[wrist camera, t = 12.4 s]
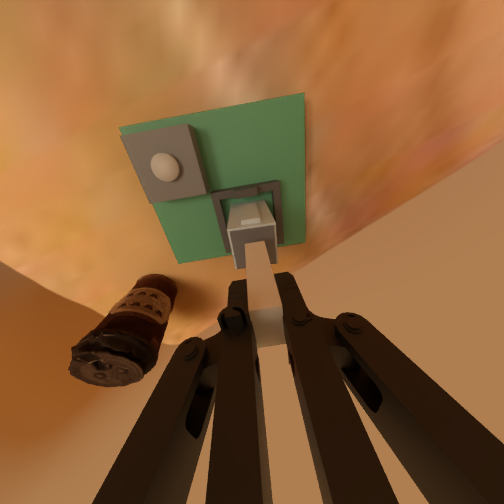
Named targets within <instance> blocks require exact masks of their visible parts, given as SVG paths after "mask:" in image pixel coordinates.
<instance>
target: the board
mask: <svg viewBox="0 0 504 504" xmlns="http://www.w3.org/2000/svg"><path fill="white" fill-rule="evenodd" d="M119 129H120V131H121V133H122V136H120V137H121V140H122V142H123V144H124V146H125V149H126V151H127V153H128V155H129V158H130V160H131V162H132V164H133V167H134V169H135V171H136V173H137V176H138V178H139V180H140V182H141V185H142V187H143V189H144V191H145V194H146V196H147V198H148V200H149V203H150V204H153V207H154V209H155V211H156V213H157V216H158V218H159V220H160V223H161V225H162V227H163V229H164V232H165V234H166V236H167V239H168V241H169V243H170V245H171V248H172V250H173V252H174V255H175V257H176V259H177V261H178V264H180V263H186V262H192V261H198V260H204V259H210V258H216V257H222V256H228V255H232V251H231V246H230V241H229V237H228V232H227V226H228V219H229V213H230V206H231V204H234V203H241V202H247V201H254V200H261V199H264V200H265V202H266V204H267V206H268V208H269V210H270V212H271V214H272V216H273V218H274V220H275V222H276V235H277V247H282V246H287V245H293V244H299V243H305V104H304V93H299V94H294V95H289V96H283V97H278V98H273V99H267V100H262V101H257V102H251V103H246V104H241V105H235V106H230V107H224V108H219V109H214V110H208V111H203V112H198V113H192V114H187V115H182V116H176V117H171V118H166V119H160V120H155V121H150V122H144V123H139V124H134V125H128V126H123V127H119Z"/></svg>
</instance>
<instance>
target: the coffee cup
mask: <svg viewBox="0 0 504 504" xmlns="http://www.w3.org/2000/svg"><path fill="white" fill-rule="evenodd" d="M176 295H177V288H176V286H175V284H174V283H173V282H172V281H171V280H169V279H167V278H165V277H163V276H160V275H147V276H143V277H142V278H140V279H138V280H137V283H136V285H135V286H134V287H133V288H132V290H130V292H129V293H128V294H127V295H126V296H124V297H123V298H122V299H121V300H120V301H119V302H118V303H116V304H115V305H114V306H113V307H112V309H111V310H110V311H109V314H108V315H107V316H106V317H105V318H104V319H103V321H102V322H101V323H100V324H99V325H98V326H97V327H96V328H95V329H94V330H91V331H90V332H89V333H88V334H87V335H86V336H85V337H84V338H82V339H81V340H80V342H79V343H78V344H77V345H76V346H73V347H72V349H71V350H72V361H71V363H70V366H69V369H68V370H69V371H70V374H71V375H72V376H74V377H75V378H77V379H80V380H82V381H84V382H86V383H88V384H93V385H96V386H104V387H117V386H126V385H129V384H131V383H135V382H138V381H140V380H141V379H142V378H143V377H144V375H145V374H147V373H148V372H149V371H150V370H151V369H152V368H153V367H154V366H155V365H156V362H157V359H158V352H159V349H160V345H161V342H162V339H163V337H164V333H165V330H166V327H167V324H168V319H169V316H170V313H171V311H172V309H173V305H174V300H175V297H176Z"/></svg>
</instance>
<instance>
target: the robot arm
mask: <svg viewBox="0 0 504 504" xmlns="http://www.w3.org/2000/svg"><path fill="white" fill-rule="evenodd" d="M245 257H246V275H247V279H243V280H237V281H232V283H231V285H230V286H229V292H228V294H229V295H228V305H227V307H226V308H224V309H223V310H222V311H221V312H220V313H219V315H218V318H217V319H218V322H219V325H220V327H221V331H220V332H219V333H217V334H216V335H214V336H212V337H210V338H208V339H206V340H204V341H203V340H202V339H201V338H199V337H191V338H189V339H186V340H185V341H183V342H182V343H181V344H180V345H179V346H178V348H177V349H176V350H175V352H174V354H173V356H172V358H171V360H170V362H169V363H168V365H167V367H166V369H165V371H164V372H163V374H162V376H161V378H160V380H159V382H158V384H157V385H156V387H155V389H154V391H153V393H152V395H151V396H150V398H149V400H148V402H147V404H146V406H145V407H144V409H143V411H142V413H141V415H140V417H139V418H138V420H137V422H136V424H135V426H134V427H133V429H132V431H131V433H130V435H129V437H128V439H127V440H126V442H125V444H124V446H123V448H122V449H121V451H120V453H119V455H118V457H117V459H116V461H115V462H114V464H113V466H112V468H111V470H110V471H109V473H108V475H107V477H106V479H105V481H104V482H103V484H102V486H101V488H100V490H99V492H98V493H97V495H96V497H95V499H94V501H93V503H92V504H186V501H187V498H188V494H189V491H190V487H191V483H192V480H193V477H194V473H195V470H196V466H197V462H198V459H199V456H200V452H201V449H202V445H203V441H204V438H205V435H206V431H207V428H208V424H209V421H210V417H211V414H212V410H213V407H214V403H215V408H214V419H213V429H212V440H211V450H210V461H209V471H208V482H207V492H206V502H205V504H273V501H272V491H271V480H270V471H269V460H268V450H267V439H266V428H265V418H264V407H263V397H262V387H261V376H260V366H259V358H258V354H257V348H260V347H267V346H273V345H280V344H287V348H288V357H289V364H290V365H291V369H292V373H293V377H294V382H295V386H296V390H297V394H298V399H299V403H300V407H301V411H302V415H303V420H304V423H305V428H306V432H307V437H308V441H309V445H310V449H311V453H312V458H313V462H314V466H315V470H316V474H317V479H318V483H319V488H320V491H321V496H322V500H323V504H399V503H398V501H397V498H396V496H395V494H394V492H393V490H392V488H391V485H390V483H389V481H388V478H387V476H386V474H385V472H384V470H383V467H382V465H381V463H380V461H379V459H378V456H377V454H376V452H375V450H374V447H373V445H372V443H371V441H370V439H369V436H368V434H367V432H366V430H365V428H364V425H363V423H362V421H361V419H360V416H359V414H358V412H357V410H356V407H355V405H354V403H353V401H352V399H351V396H350V394H349V392H348V390H347V388H346V385H345V383H346V384H347V386H348V387H349V389H350V390H351V391H352V393H353V394H354V396H355V397H356V399H357V400H358V402H359V403H360V405H361V406H362V407H363V409H364V410H365V412H366V413H367V414H368V416H369V417H370V419H371V420H372V422H373V423H374V425H375V426H376V428H377V429H378V430H379V432H380V433H381V434H382V436H383V438H384V439H385V441H386V442H387V443H388V445H389V446H390V448H391V449H392V451H393V452H394V453H395V455H396V456H397V458H398V459H399V461H400V462H401V464H402V465H403V466H404V468H405V469H406V470H407V472H408V474H409V475H410V476H411V478H412V479H413V481H414V482H415V484H416V485H417V486H418V488H419V489H420V491H421V492H422V494H423V495H424V497H425V498H426V500H427V501H428V502H429V504H504V444H503V443H502V442H501V441H500V440H498V439H497V438H496V437H495V436H494V435H493V434H492V433H491V432H490V431H489V430H487V429H486V428H485V427H484V426H483V425H482V424H481V423H480V422H479V421H478V420H476V419H475V418H474V417H473V416H472V415H471V414H470V413H469V412H468V411H466V410H465V409H464V408H463V407H462V406H461V405H460V404H459V403H458V402H457V401H456V400H454V399H453V398H452V397H451V396H450V395H449V394H448V393H447V392H445V390H443V389H442V388H441V387H440V386H439V385H438V384H437V383H436V382H435V381H433V380H432V379H431V378H430V377H429V376H428V375H427V374H426V373H424V371H422V370H421V369H420V368H419V367H418V366H417V365H416V364H415V363H413V362H412V361H411V360H410V359H409V358H408V357H407V356H406V355H405V354H404V353H403V352H402V351H400V350H399V349H398V348H397V347H396V346H395V345H394V344H393V343H391V342H390V341H389V340H388V339H387V338H386V337H385V336H384V335H383V334H382V333H381V332H379V331H378V330H377V329H376V328H375V327H374V326H373V325H372V324H371V323H369V322H368V321H367V320H366V319H365V318H363V317H362V316H360V315H357V314H355V313H348V312H346V313H341V314H340V315H338V316H337V318H336V319H329V318H323V317H319V316H316V315H314V314H313V313H312V312H310V311H309V310H308V308H307V307H306V304H305V302H304V299H303V297H302V295H301V293H300V290H299V288H298V286H297V283H296V281H295V279H294V276H293V275H291V274H290V273H289V272H283V273H277V274H273V271H272V267H271V263H270V260H269V256H268V253H267V249H266V245H265V242H264V241H259V242H253V243H247V244H245ZM343 380H344V381H345V383H344V381H343Z"/></svg>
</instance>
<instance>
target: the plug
mask: <svg viewBox="0 0 504 504" xmlns="http://www.w3.org/2000/svg"><path fill="white" fill-rule="evenodd" d="M227 232H228V237H229V241H230V246H231V251H232V255H233V260H234V264H235V269H241V268H246V257H245V244H247V243H253V242H259V241H264V242H265V245H266V249H267V253H268V256H269V260H270V263H271V264H276V263H278V250H277V235H276V222H275V220H274V218H273V216H272V214H271V212H270V210H269V208H268V206H267V204H266V202H265V200H264V199H261V200H254V201H247V202H241V203H234V204H231V206H230V213H229V219H228V226H227Z"/></svg>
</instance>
